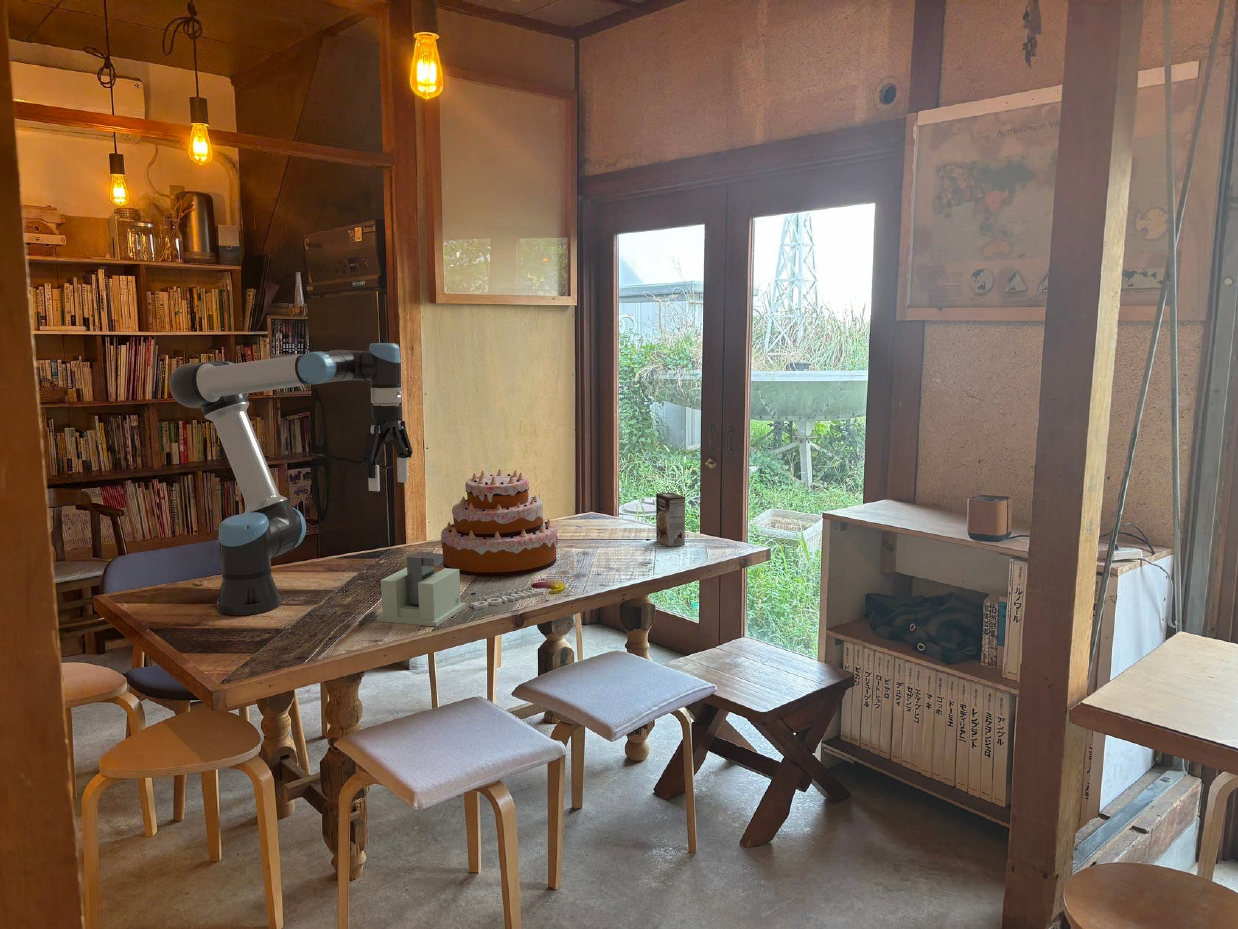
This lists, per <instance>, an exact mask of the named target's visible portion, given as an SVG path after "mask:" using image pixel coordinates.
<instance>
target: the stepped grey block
mask: <svg viewBox="0 0 1238 929" xmlns="http://www.w3.org/2000/svg"><path fill="white" fill-rule="evenodd" d="M440 564H443V553H441V552H440V553H438V552H431V551H417V552H414V553H413V554H410V555H408V556H407V557H406V567H407V579H408V602H409V606H411V607H419V595H418V583H419V582H421V581H423V580H424V579H426V578H428V577H430V576H432V575H434V574H435V570H434V567H436V566H438V565H440Z"/></svg>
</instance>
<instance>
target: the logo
mask: <svg viewBox="0 0 1238 929" xmlns="http://www.w3.org/2000/svg"><path fill="white" fill-rule="evenodd" d="M540 588H541V589H543V588H546V589H548V588H550V590H548V594H549V595H553V594H555V595H556V594H560V593H563V592H565V591H566V584H565V583H564V582H563V583H562V582H559V581H538V582H533V583H531V584H530V585H528V586H524V587H523V586H521V587H520V588H515V589H510V590H508V591H507V590H506V591H502V592H497V593H492V594H489V595H483V596H479V598H478V601H475V602H470V607H471V608H473V610H474V611H478V610H480V609H481V610H482V609H486V608H488V607H489V606H500V605H502V604H503V603H504V604H508V603H509V601H510V602H516V601H520V600H521V599H525V600H526V599H528V598H533V597H539V596H542V595H544V591H543V590H540ZM529 589H530V590H529ZM526 591H527V592H526Z"/></svg>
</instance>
